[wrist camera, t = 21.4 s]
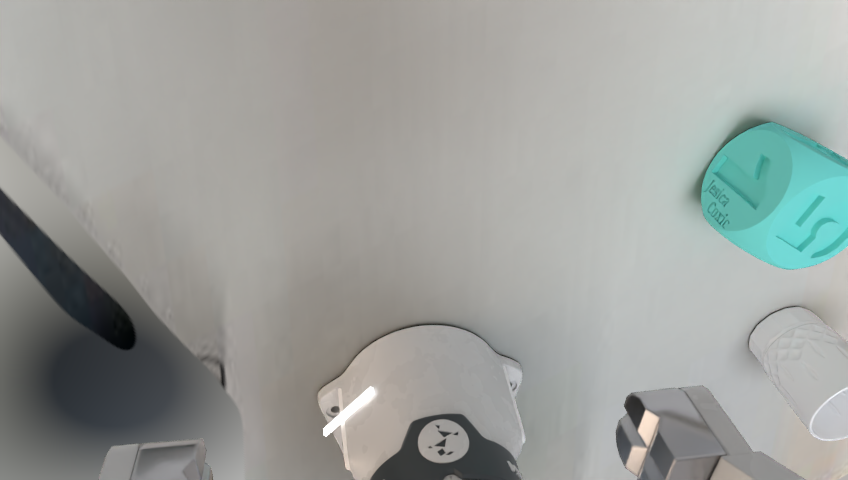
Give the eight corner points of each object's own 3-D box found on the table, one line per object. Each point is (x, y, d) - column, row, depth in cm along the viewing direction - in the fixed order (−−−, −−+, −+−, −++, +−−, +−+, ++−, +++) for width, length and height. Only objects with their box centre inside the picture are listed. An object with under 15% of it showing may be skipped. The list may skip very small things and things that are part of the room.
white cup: (791, 362, 64) (862, 441, 55) (727, 358, 62) (792, 440, 53) (834, 303, 59) (918, 380, 51) (767, 298, 57) (844, 377, 49)
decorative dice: (746, 109, 45) (820, 158, 39) (819, 142, 48) (900, 192, 42) (682, 198, 49) (740, 256, 43) (754, 223, 52) (818, 281, 45)
